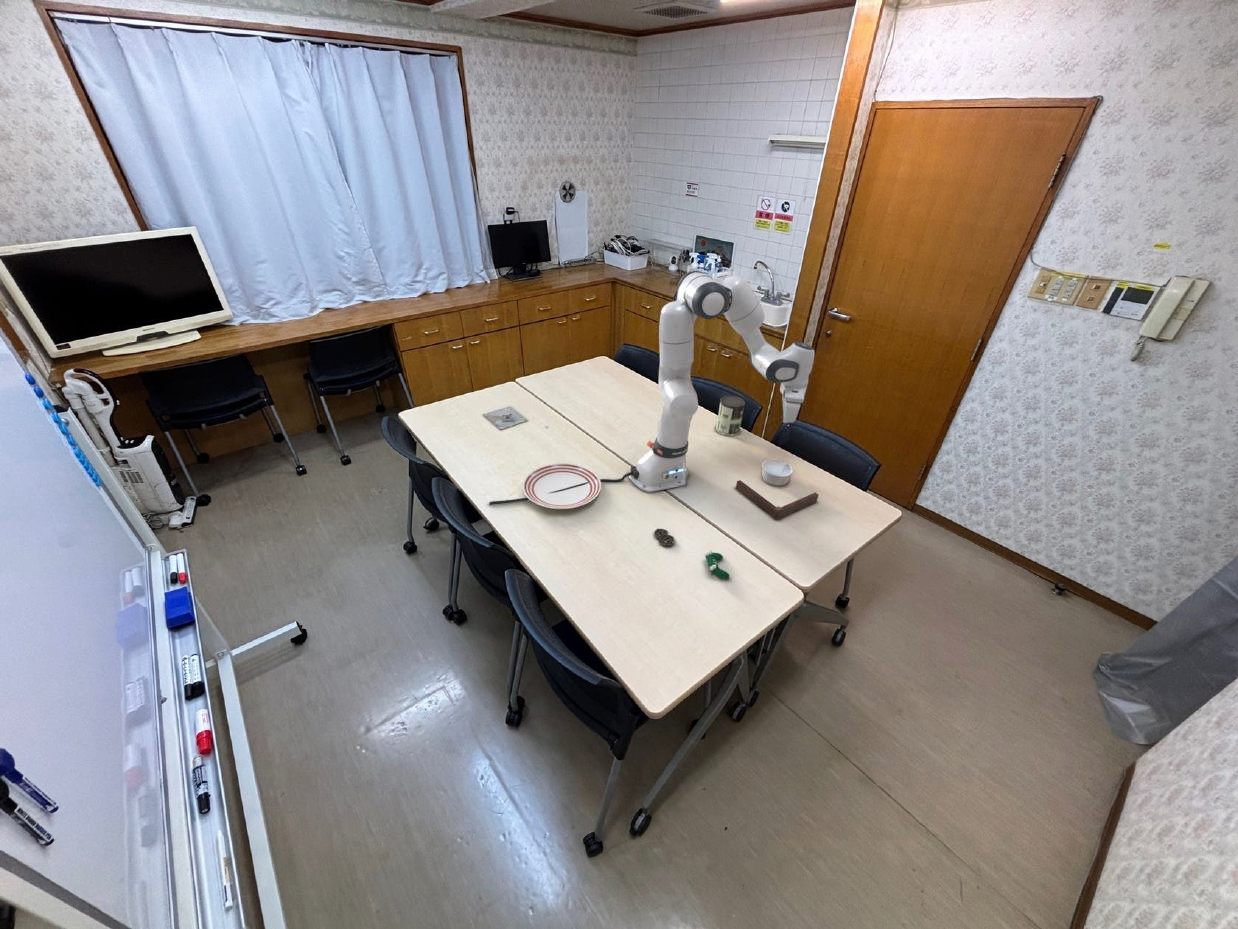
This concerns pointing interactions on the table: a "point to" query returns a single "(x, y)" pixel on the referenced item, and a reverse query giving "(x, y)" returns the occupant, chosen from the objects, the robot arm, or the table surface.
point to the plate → (561, 486)
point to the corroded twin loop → (664, 537)
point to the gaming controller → (715, 564)
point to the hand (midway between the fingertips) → (784, 421)
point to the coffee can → (730, 415)
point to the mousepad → (505, 418)
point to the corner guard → (769, 507)
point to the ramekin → (776, 472)
